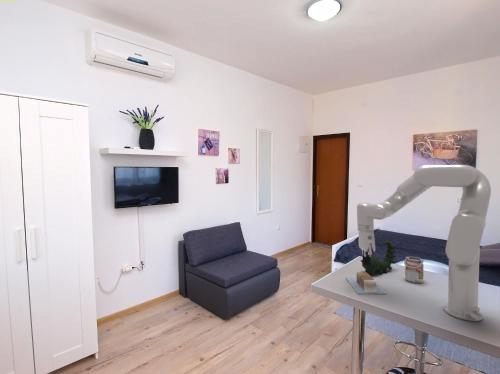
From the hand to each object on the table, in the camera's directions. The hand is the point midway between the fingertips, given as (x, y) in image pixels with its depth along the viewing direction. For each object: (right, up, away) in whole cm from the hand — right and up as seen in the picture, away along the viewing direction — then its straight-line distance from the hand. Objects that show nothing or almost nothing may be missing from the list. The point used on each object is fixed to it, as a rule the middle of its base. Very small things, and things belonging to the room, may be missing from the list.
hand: (366, 264), depth 136 cm
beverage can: (+28, -11, +7) cm, 31 cm away
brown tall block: (0, -9, +6) cm, 10 cm away
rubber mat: (0, -12, +3) cm, 12 cm away
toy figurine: (+15, -11, +20) cm, 27 cm away
